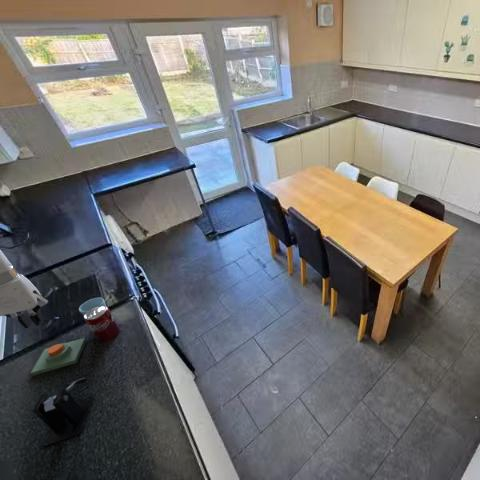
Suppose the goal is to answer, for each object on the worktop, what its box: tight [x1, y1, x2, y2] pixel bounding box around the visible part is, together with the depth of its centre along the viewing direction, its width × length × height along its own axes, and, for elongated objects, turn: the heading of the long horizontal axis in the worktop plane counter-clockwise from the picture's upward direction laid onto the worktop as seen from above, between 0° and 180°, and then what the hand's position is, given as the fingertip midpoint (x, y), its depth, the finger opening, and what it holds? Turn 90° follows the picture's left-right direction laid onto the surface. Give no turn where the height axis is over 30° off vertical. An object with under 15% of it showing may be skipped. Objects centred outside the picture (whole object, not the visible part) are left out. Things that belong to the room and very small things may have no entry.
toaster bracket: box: [32, 387, 94, 448], centre depth 72 cm, size 10×8×12 cm
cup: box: [78, 297, 107, 317], centre depth 104 cm, size 8×8×10 cm
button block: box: [30, 337, 89, 376], centre depth 92 cm, size 12×10×4 cm
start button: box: [48, 343, 64, 356], centre depth 91 cm, size 4×4×2 cm
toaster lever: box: [43, 377, 87, 412], centre depth 75 cm, size 13×4×2 cm
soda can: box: [83, 305, 122, 343], centre depth 98 cm, size 7×7×12 cm
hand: (34, 323), depth 85 cm, fingers closed
